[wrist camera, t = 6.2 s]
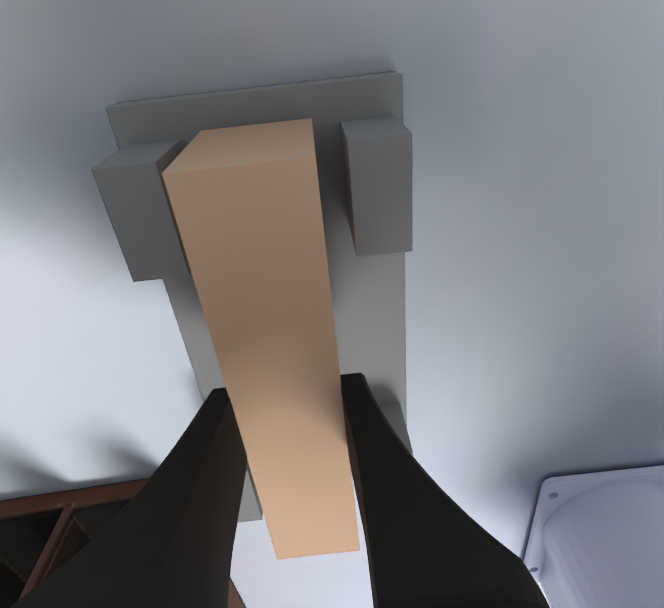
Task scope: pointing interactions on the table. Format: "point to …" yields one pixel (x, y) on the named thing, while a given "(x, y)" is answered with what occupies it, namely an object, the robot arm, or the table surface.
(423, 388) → the table surface
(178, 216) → the light brown rectangular bar
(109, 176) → the plate with corner studs
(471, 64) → the table surface
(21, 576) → the letter holder
